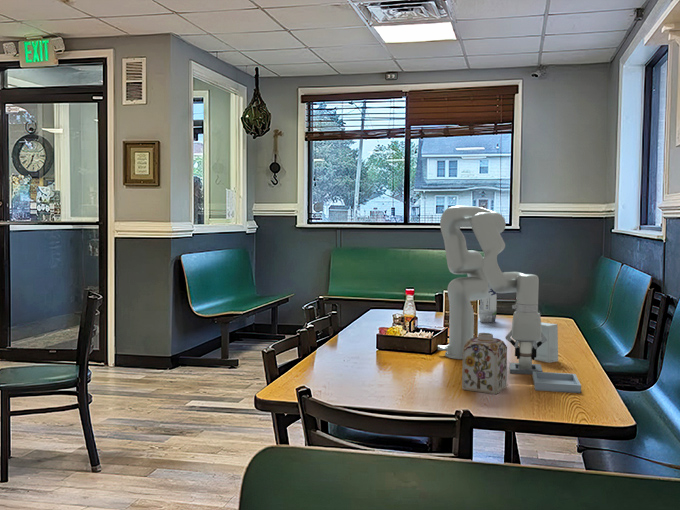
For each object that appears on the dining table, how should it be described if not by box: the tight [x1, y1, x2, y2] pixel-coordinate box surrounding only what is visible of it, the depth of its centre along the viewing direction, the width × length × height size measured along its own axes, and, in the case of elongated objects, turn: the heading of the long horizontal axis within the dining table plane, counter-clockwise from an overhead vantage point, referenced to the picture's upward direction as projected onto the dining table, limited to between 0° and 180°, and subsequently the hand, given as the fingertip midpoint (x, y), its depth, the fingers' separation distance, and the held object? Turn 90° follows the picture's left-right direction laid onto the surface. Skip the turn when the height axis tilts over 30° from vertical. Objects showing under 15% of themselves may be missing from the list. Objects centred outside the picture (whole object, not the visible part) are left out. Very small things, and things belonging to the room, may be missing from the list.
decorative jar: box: [461, 332, 508, 395], centre depth 215 cm, size 12×12×18 cm
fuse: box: [518, 341, 533, 369], centre depth 239 cm, size 5×5×12 cm
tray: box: [532, 371, 582, 394], centre depth 220 cm, size 14×16×2 cm
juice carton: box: [478, 284, 498, 323], centre depth 354 cm, size 9×10×27 cm
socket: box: [509, 362, 544, 376], centre depth 240 cm, size 11×14×2 cm
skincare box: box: [532, 321, 559, 363], centre depth 257 cm, size 8×6×15 cm
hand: (525, 358), depth 239 cm, fingers closed on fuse, 4 cm apart
